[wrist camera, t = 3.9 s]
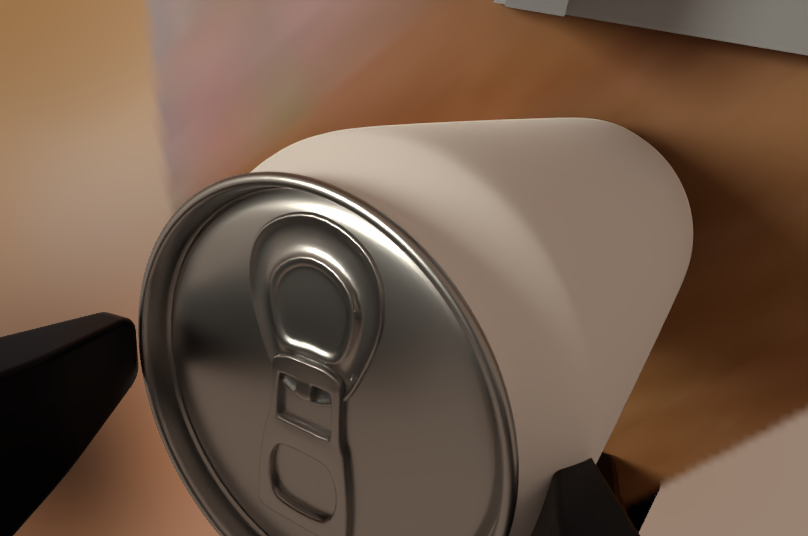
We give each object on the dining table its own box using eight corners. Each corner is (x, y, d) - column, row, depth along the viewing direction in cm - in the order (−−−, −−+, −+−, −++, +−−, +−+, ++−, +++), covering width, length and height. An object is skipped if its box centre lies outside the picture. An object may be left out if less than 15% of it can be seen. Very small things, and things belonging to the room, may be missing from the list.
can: (724, 130, 14) (629, 182, 4) (666, 366, 16) (508, 775, 6) (482, 105, 17) (97, 102, 7) (459, 306, 19) (132, 517, 9)
